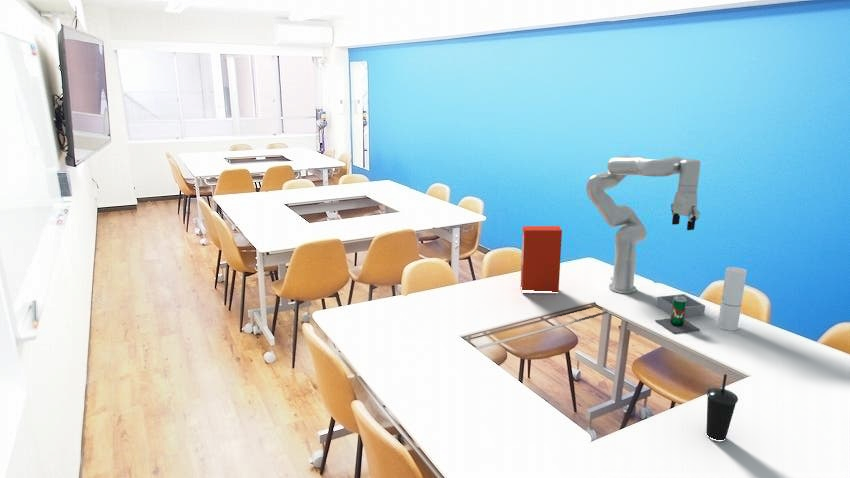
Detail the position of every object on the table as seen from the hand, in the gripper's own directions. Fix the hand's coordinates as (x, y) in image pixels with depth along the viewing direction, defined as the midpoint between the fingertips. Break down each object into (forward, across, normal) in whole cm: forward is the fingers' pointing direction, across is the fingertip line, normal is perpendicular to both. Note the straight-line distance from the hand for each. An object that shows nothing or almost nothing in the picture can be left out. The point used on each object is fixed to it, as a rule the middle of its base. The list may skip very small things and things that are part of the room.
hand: (682, 227), depth 230 cm
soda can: (+36, +20, -13) cm, 43 cm away
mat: (+36, +20, -13) cm, 43 cm away
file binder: (+36, -30, -52) cm, 70 cm away
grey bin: (+36, +7, -2) cm, 37 cm away
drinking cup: (+36, +85, -49) cm, 105 cm away
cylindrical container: (+36, +26, +6) cm, 45 cm away
